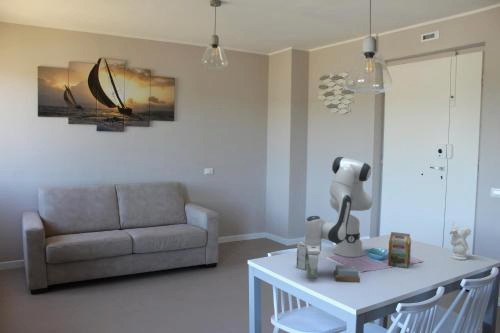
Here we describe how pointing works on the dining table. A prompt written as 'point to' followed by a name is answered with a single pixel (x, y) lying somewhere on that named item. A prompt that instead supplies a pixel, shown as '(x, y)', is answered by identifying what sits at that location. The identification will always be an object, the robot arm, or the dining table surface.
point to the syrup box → (302, 256)
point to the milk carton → (399, 250)
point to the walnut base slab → (346, 278)
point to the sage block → (310, 272)
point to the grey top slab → (346, 271)
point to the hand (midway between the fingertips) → (312, 272)
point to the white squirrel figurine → (459, 241)
